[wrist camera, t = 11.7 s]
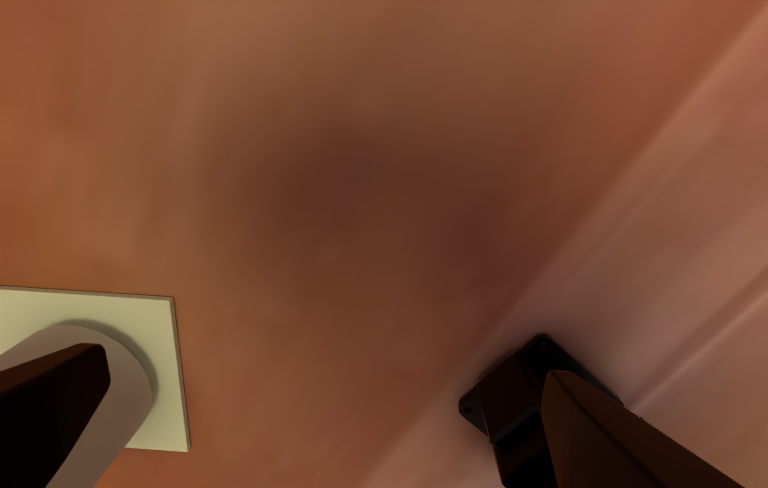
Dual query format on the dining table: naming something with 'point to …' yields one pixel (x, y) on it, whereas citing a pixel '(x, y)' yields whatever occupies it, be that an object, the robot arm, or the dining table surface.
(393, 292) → the dining table surface
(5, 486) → the robot arm
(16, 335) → the mat
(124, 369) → the can
